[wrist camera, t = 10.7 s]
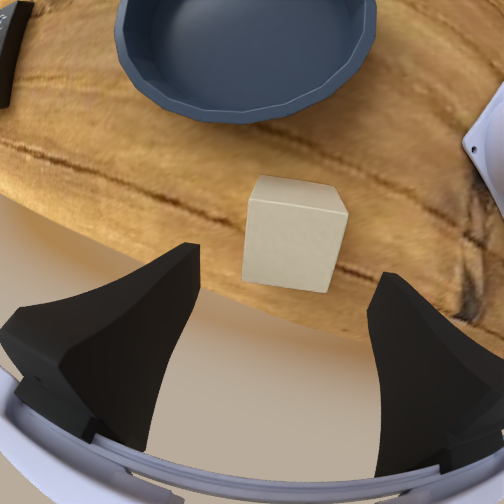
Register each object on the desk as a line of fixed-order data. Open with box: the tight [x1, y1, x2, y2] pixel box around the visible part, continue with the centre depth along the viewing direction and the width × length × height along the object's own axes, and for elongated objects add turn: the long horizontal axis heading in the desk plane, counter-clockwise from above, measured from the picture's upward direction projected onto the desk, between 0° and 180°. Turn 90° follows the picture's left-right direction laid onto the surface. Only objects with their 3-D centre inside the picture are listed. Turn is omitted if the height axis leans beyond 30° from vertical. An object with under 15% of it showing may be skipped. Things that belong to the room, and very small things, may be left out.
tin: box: [114, 0, 377, 125], centre depth 9 cm, size 12×12×3 cm
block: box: [241, 175, 349, 293], centre depth 14 cm, size 4×4×4 cm
